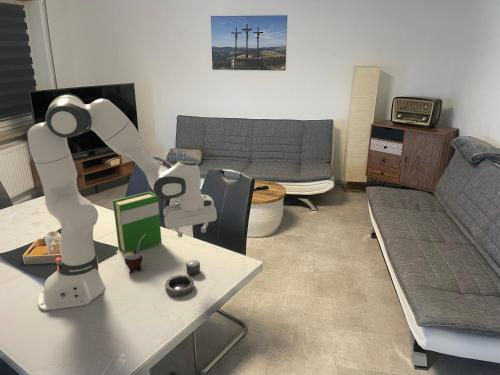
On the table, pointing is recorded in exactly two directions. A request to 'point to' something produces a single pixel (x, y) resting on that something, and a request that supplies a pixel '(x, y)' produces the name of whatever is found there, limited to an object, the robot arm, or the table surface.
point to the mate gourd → (134, 259)
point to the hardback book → (137, 221)
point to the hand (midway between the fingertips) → (192, 234)
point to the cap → (193, 267)
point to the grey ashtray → (179, 286)
